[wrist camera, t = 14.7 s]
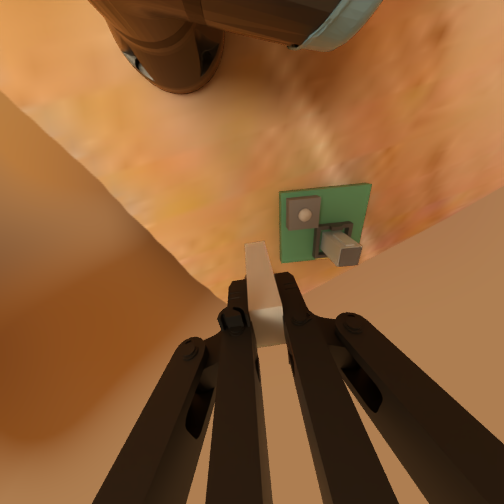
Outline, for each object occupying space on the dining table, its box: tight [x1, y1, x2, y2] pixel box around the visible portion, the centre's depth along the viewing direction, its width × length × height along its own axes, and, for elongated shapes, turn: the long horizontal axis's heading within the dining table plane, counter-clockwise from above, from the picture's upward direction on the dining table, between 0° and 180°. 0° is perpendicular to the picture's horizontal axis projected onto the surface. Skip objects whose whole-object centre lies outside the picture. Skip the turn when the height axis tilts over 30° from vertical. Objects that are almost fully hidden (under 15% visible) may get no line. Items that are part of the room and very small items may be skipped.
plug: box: [320, 230, 362, 267], centre depth 36 cm, size 4×4×8 cm
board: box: [279, 183, 372, 263], centre depth 38 cm, size 16×18×5 cm
